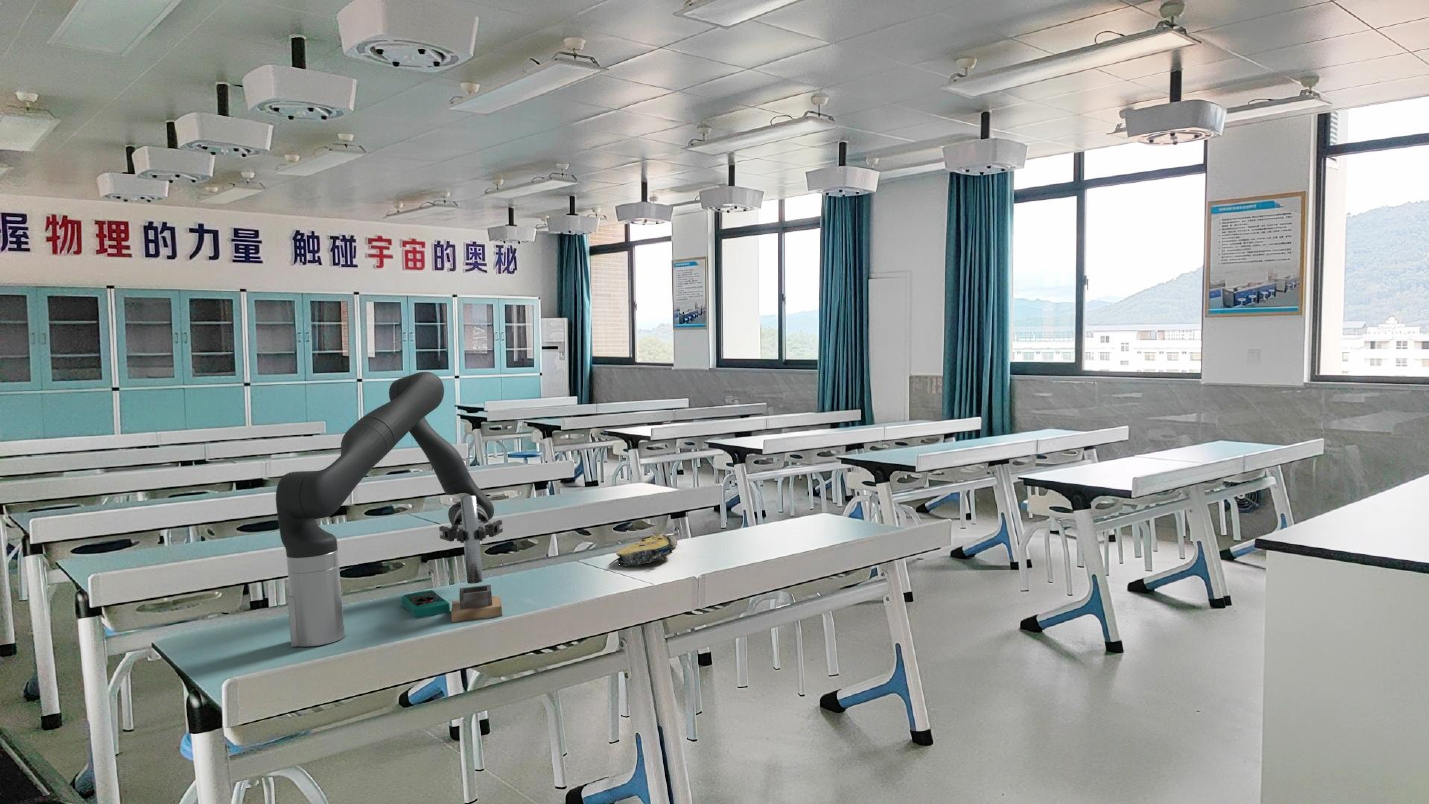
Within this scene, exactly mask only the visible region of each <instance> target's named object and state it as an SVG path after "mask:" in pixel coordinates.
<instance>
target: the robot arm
mask: <svg viewBox="0 0 1429 804" xmlns="http://www.w3.org/2000/svg"><path fill="white" fill-rule="evenodd" d="M444 395H445V387H444V382H443V381H442V380H441V377H440V376H439V375H437V374H435V373H433V372H430V371H418V372H416V373H413V374H410V375H407V376H404V377H401V378H398V379H396V380H394V381H392V383H391V384H390V386H389V389H388V396H389V402H385V403H384V404H382V405H380V406H378V407H377V408H375V409H374V410H372V411H370V412H367V413H366V414H365V415H364V416H362V417H361V418H359V419H358V420H357V421H356V422H355V423H354V424H353V425H351V427H350V428H348V430H347V431H346V432H345V434H344V435H343V437H342V440H341V442H340V455H339V456H338V458H336V460H335V461H333V462H332V463H331V464H330V465H329V466H327V467H325V468H322V469H320V470H306V471H305V470H303V471H302V470H301V471H299V470H298V471H291V472H287V473H285V474H284V475H283V476H282V477H281V478H280V479H279V481H278V484H277V486H276V491H275V505H276V507H275V509H276V514H277V520H278V521H277V522H278V529H279V534H280V541H281V542H282V545H283V546H284V547H283V548H284V549H285V555H286V565H287V566H286V567H287V578H288V586H289V587H288V588H289V596H287V609H288V619H289V620H288V621H289V632H290V643H291V645H290V647H291V648H293V647H295V648H296V647H303V648H304V647H315V646H322V645H327V644H331V643H332V644H333V643H335V642H337V641H340V640H342V639H344V637H345V634H346V633H345V624H344V610H343V598H342V587H341V574H340V573H341V571H340V561H339V551H338V549H339V547H338V540H337V539H338V538H337V537H336V536H335V535H334V534H332V533H331V532H328V531H326V530H324V529H323V528H321V526H319V524H318V523H317V520H316V519H323V518H329V517H330V516H332V515H334V514H335V513H336V512H337V511H338V510H339V509H340V508H341V506H342V505H343V504H344V502H345V501H346V500H347V499H349V498H348V497H349V496H350V495H351V494H352V493H353V491H354V490H355V488H356V487H357V486H358V484H360V482H361V481H362V480H363V479H364V478H365V477H366V476H367V475H368V473H370V471H371V470H372V469H373V468H374V467H375V466H376V465H377V464H379V463H380V461H382V460H383V459H384V458H385V457H386V456H387V455H388V454H389V453H390V452H391V451H392V450H393V449H394V448H395V446H396V445H398V443H399V442H400V441H401V440H402V439H403V438H404V437H405V436H406V435H407V434H409V433H410V435H411V436H412V438H413V440H414V441H415V442H416V443H417V445H418V446H419V447H420V449H421V450H422V452H423V453H424V455H425V456H426V458H427V460H428V461H429V463H430V465H431V467H432V469H433V471H434V473H435V475H436V478H437V480H438V481H439V484H440V485H441V488H442V490H443V492H444V493H445V494H446V495H448V496H454V495H461V494H467V495H468V496H471V495H475V496H476V501H477V514H478V526H479V541H480V542H481V541H483V540H484V539H486V538H487V536H488V537H489V538H494V537H496V536H497V535H500V534H501V533H503V532H504V531H503V530H504V528H503V526H504V525H503V520H500V519H498V520H496V521H493V522H491V521H490V520H492V519H493V517H494V514H495V508H494V505H493V502H492V501H491V500H490V498H488V496H487V495H486V494H485V493H484V492H483V491H482V489H480V488H479V486H478V485H477V484H476V482H475V481H474V479H473V478H472V476H471V474H470V472H469V470H468V468H467V465H466V464H465V462H464V460H463V458H462V455H461V454H460V452H459V451H458V450H457V449H456V448H455V447H454V446H453V445H452V444H451V443H450V442H449V441H448V440H447V439H445V438H443V437H442V436H441V435H440V434H439V433H438V432H436V430H435V429H434V428H433V427H432V426H431V425H430V423H429V422H428V420H427V419H426V416H428V415H429V414H431V412H433V411H434V410H436V409H438V407H439V406H440V405H441V403H442V402H443V399H444ZM447 514H448V515H447V517H448V520H449V523H450V525H451V526H450V527H449V526H444V525H441V526H438V531H439V539H441V540H444V541H447V542H455V539H456V542H459V543H460V544H464V535H463V525H462V512H461V501H459V502H455V503H454V504H452V505H451V506H450V507H449V509H448V513H447Z"/></svg>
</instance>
